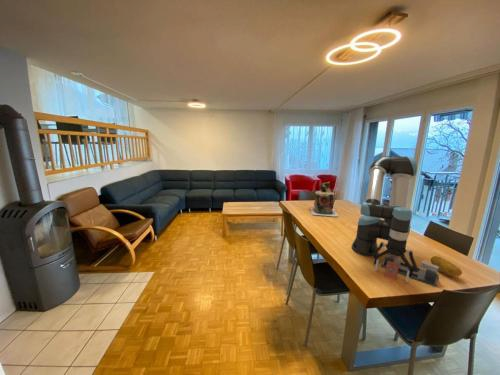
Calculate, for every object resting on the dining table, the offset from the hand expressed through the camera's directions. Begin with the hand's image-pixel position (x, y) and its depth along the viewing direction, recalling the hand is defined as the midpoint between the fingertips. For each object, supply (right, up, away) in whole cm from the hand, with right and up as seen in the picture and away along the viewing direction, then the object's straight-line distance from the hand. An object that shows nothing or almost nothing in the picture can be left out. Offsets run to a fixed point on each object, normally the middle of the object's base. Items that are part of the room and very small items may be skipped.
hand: (390, 275), depth 108 cm
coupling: (0, 0, 0) cm, 0 cm away
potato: (+32, 0, +5) cm, 32 cm away
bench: (+13, 0, +5) cm, 14 cm away
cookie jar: (0, +20, +101) cm, 103 cm away
